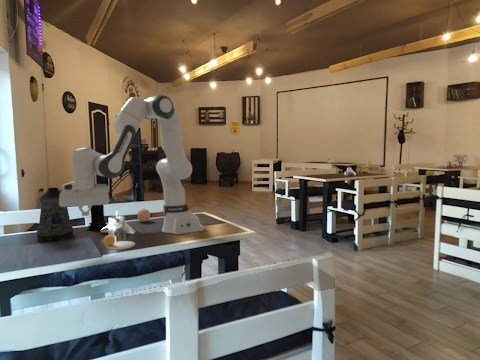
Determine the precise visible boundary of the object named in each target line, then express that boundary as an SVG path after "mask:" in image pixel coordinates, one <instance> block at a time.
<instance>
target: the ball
mask: <svg viewBox="0 0 480 360" xmlns="http://www.w3.org/2000/svg"><path fill="white" fill-rule="evenodd" d="M102 242H103V244H104V245H105V246H112V245H113V244H114V243H115V242H116V239H115V237H114V236H113V235H111V234H110V235H109V234H108V235H105V236H104V238H103V241H102Z"/></svg>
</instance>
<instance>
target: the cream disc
mask: <svg viewBox="0 0 480 360" xmlns="http://www.w3.org/2000/svg"><path fill="white" fill-rule="evenodd" d="M134 246H136V243H135V242H134V241H130V240H122V241H121V240H119V241H115V243H114V244H113V245H112V246H106V245H105V249H108V250H112V251H113V250H114V251H116V250H119V251H120V250H126V249H130V248H132V247H134Z"/></svg>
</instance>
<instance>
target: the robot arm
mask: <svg viewBox="0 0 480 360" xmlns="http://www.w3.org/2000/svg"><path fill="white" fill-rule="evenodd" d="M144 119H146V120H157V121H158V123H159V132H160V144H161V148H162V150H163V151H164V154H165V156H166V157H164V158H162V159H160V160H158V162H157V163H156V166H155V171H156V172H157V174H158V175H159V177H160V181H161V186H162V190H163V203H164V204H163V207H162V208H163V209H162V211H163V215H164V216H163V224H162V228H161V231H162V232H163V233H166V234H173V235H181V234H189V233H196V232H202V231H205V226H204V225H202V224H201V222H200V219H199V217H198V216H197V215H196V214H194V213H193V212H191V211H190V209H191V205H189V204H187V203H186V191H185V188H184V186H183V185H182V184H183V183H181V180H184V179H187V178H189V177H190V176H191V175H192V173H193V165H192V163H191V162H190V161H189V160H188V158H187V155H186V151H185V150H184V149H185V148H184V144H183V133H182V124H181V119H180V115H179V114H178V112H177V111H175V107H174V104H173V101H172V100H171V98H170V97H169V96H166V95H162V94H160V95H153V96H150V97H147V98H140V97H138V96H132V97H130V98H129V99H128V100H127V101H126V102H125V103H124V105H123V106H122V107H121V109H120V111H119V112H118V113H117V116H116V117H115V121H114V124H113V126H114V128H115V130H116V132H117V133H118V138H117V140H116V142H115V144H114V146H113V148H112V149H111V152H109V153H108V154H103V153H100V152H97V151H95V150H94V149H93V148H91V147H87V146H86V147H81V148H77V149H75V150H73V152H72V154H71V155H72V156H71V170H72V181H69V182H67V183H64V184H62V185H61V186H60V187H61V188H60V189H61V190H60V191H61V193H60V197H59V205H60V206H61V207H67V208H68V207H78V209H79V211H80V213H81V216H82V217H84V216H90V212H91V207H92V205H109V203H110V196H109V195H110V194H109V193H110V186H109V185H108V184H106V183H102V184H101V183H96V182H95V176H100V177H105V178H107V179H115V178H118V177H119V176H120V175H121V174H122V173H123V171H124V169H125V168H124V167H125V160H126V158H127V155H128V153H129V150H130V149H131V147H132V144H133V142H134V139H135V137H136V134H137V133H138V132H137V131H138V130H139V128H140V126H141V124H142V122H143V120H144ZM84 206H86V207H87V210H83V207H84Z"/></svg>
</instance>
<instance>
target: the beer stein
mask: <svg viewBox="0 0 480 360" xmlns="http://www.w3.org/2000/svg"><path fill="white" fill-rule="evenodd" d="M61 191H62V190H59V188H58V187H49V188H48V189H47V190H46V191H45V192H44V193H43V194H42V195H41V196H40V197H39V202H40V204H41V205H40V213H39V222H38V227H37V231H36V237H37V240H38V241H40V242H45V243H46V242H50V243H51V242H57V241H64V240H68V239H70V238H73V235H74V227H73V225H72V223H71V219H70V214H69V209H68V207H61V206H60V205H59V197H60V193H61Z"/></svg>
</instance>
